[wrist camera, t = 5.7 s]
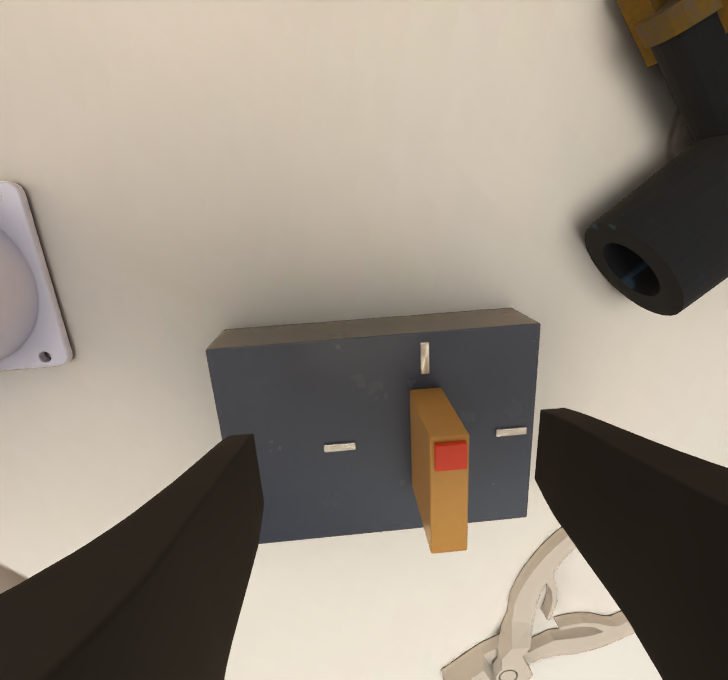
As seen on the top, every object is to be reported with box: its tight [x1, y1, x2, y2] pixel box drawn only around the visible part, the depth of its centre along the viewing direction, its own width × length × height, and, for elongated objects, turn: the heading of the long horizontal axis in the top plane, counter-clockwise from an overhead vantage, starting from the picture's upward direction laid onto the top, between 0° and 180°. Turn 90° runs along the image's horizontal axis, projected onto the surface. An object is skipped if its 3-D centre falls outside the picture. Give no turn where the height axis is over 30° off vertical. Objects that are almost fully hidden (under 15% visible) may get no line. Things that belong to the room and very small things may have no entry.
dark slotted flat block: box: [206, 308, 540, 544], centre depth 20 cm, size 14×10×3 cm
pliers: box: [441, 527, 635, 680], centre depth 26 cm, size 10×2×15 cm
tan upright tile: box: [410, 388, 469, 553], centre depth 16 cm, size 5×1×4 cm, turn 3°
